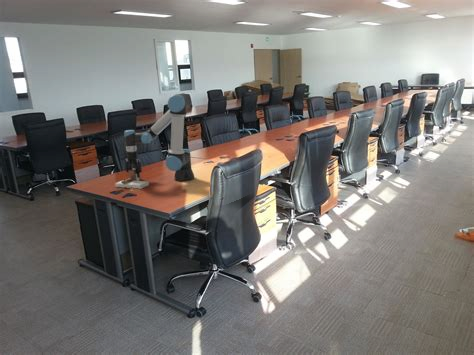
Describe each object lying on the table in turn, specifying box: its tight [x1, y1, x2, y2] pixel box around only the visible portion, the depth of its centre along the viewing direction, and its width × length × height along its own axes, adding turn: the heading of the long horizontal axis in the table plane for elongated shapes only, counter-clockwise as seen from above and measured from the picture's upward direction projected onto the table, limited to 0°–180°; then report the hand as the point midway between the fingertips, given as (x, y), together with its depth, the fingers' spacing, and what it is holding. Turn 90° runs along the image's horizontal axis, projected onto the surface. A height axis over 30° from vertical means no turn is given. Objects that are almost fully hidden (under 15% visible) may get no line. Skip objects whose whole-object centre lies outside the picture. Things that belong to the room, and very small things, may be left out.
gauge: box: [120, 167, 141, 184], centre depth 294 cm, size 17×5×10 cm, turn 158°
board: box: [114, 179, 149, 190], centre depth 291 cm, size 10×22×3 cm, turn 67°
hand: (134, 181), depth 300 cm, fingers closed on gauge, 5 cm apart
